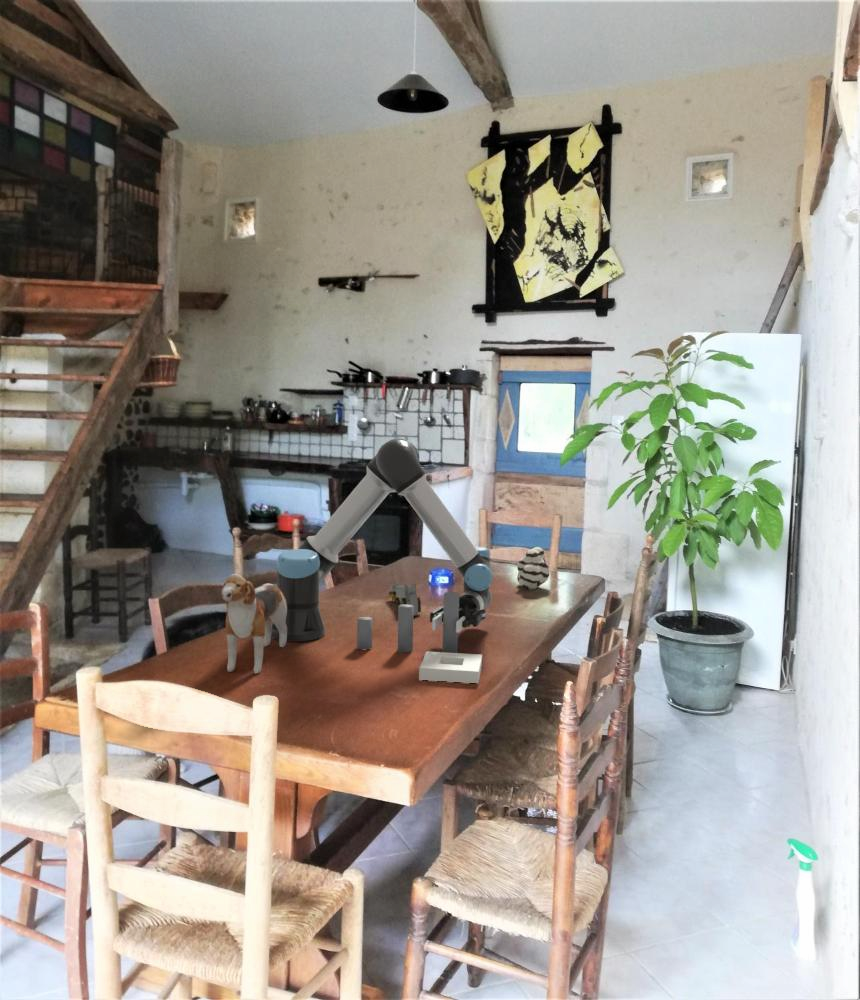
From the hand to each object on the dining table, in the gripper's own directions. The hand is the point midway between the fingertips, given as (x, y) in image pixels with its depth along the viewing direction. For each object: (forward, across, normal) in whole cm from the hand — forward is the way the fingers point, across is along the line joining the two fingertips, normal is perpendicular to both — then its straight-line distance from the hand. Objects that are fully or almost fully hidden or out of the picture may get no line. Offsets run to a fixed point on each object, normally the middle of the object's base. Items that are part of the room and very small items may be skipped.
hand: (445, 626), depth 207 cm
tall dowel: (-5, 0, -8) cm, 10 cm away
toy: (-50, +28, -9) cm, 58 cm away
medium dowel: (-3, +12, -8) cm, 15 cm away
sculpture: (-98, -6, -9) cm, 98 cm away
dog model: (+20, +43, -9) cm, 48 cm away
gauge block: (+11, -5, -8) cm, 15 cm away
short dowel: (-1, +23, -8) cm, 24 cm away
